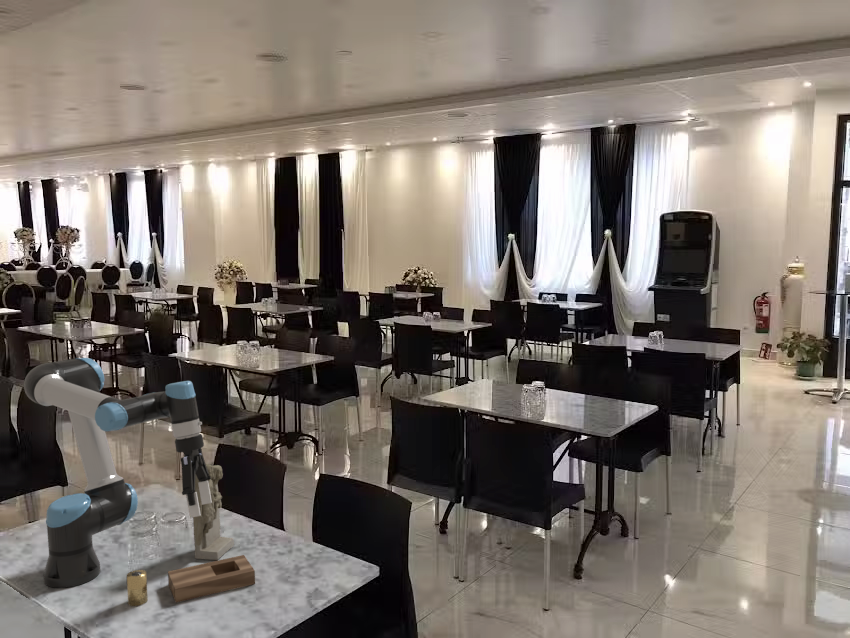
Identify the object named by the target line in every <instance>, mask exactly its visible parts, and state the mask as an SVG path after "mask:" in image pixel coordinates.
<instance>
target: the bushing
mask: <svg viewBox="0 0 850 638" xmlns="http://www.w3.org/2000/svg"><path fill="white" fill-rule="evenodd" d="M147 580H148V578H147V570H145V569H135V570H132V571H129V572H128V573H127V574H126V586H127V587H126V589H127V604H128V606H130V607H140V606H143V605H145V604H146V603H147V602H148V597H149V596H148V581H147Z"/></svg>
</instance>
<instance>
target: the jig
mask: <svg viewBox="0 0 850 638" xmlns="http://www.w3.org/2000/svg"><path fill="white" fill-rule="evenodd" d="M251 564H252V563H250V562H249V560H248V559H247V557H246V556H245V555H244V554H241V555H237V556H233V557H228V558H223V559H218V560H214V561H209V562H205V563H201V564H195V565H192V566H191V565H190V566H186V567H182V568H179V569H173V570H169V571H167V579H168V580H167V581H168V584H167V585H168V586H169V587H168V588H169V589H170V592H171V595H172V597H173V601H175V603H176V604H177V603H182V602H185V601H190V600H194V599H198V598H203V597H207V596H210V595H215V594H218V593H223V592H227V591H231V590H235V589H239V588H242V587H243V588H244V587H247V586H251V585H255V584H256V573H255V572H256V570H255V569H254V568H253V566H252V565H251Z"/></svg>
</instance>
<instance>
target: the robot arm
mask: <svg viewBox="0 0 850 638" xmlns="http://www.w3.org/2000/svg"><path fill="white" fill-rule="evenodd" d="M23 381H24V382H23V390H24V392H25V395H26V397H28V399H29V400H31V401H32V402H34V403H35V404H38V405H41V406H43V407H44V406H45V407H49V406H54V407H57V408H60V409H63V410H66V411H68V412H67V413H68V416H69V420H70V423H71V427H72V431H73V434H74V438H75V441H76V445H77V448H78V449H77V450H78V453H79V456H80V460H81V464H82V467H83V471H84V474H85V478H86V481H87V483H86V486H85V488H84V490H83V492H84V493H80V492H79V493H73V494H67V495H65V496H62V497H59V498H57V499H56V500H54V501H52V502H51V503H50V504H49V505H48V508H47V509H46V519H45V523H46V529H47V531H46V532H47V533H46V534H47V544H48V546H47V547H48V557H47V561H46V565H45V567H44V571H43V583H44V585H45V586H47V587H50V588H54V589H55V588H57V589H58V588H59V589H62V588H71V587H75V586H79V585H82V584H85V583H88V582H90V581H92V580H94V579H95V578H96V577H98V576H99V575H100V573H101V563H100V559H99V558H98V555H97V553H96V551H95V549H94V546H93V535H96V534H98V533H101V532H103V531H106V530H108V529H111V528H113V527H116V526H119V525H122V524H124V523H126V522H128V521H129V520H131V519H132V518H133V517H134V516H135V514H136V511H137V509H138V506H139V505H138V503H139V500H138V499H139V498H138V494H137V490H136V488H135V487H133V485H132V484H130V483H127V482H126V481H125V479H124V477H123V476H120V475H119V474H118V473H117V470H116V466H115V462H114V460H113V455H112V451H111V449H110V444H109V441H108V437H107V433H106V432H112V431H113V432H114V431H120V430H122V429H124V428H129V427H132V426H136V425H140V424H145V423H147V422H151V421H156V420H159V419H165V418H170V423H171V428H172V435H173V437H174V438H175V440H174V445H175V450H176V452H177V453H183V457H180V464H181V480H182V482H181V484H182V486H181V487H182V492H181V495H182V496H184V495H186V496H185V498H186V502H187V509H188V513H189V514H188V515H189V518H190V519H191V518H193V517H197V516H200V515H201V514H200V508H199V503H198V497H197V492H195V477H196V476H197V478H198V480H199V483H198V485H199V491H200V496H201V502H202V505H203V504H209V503H212V500H211V495H210V489H209V483H208V481H207V480H210V479H211V477H210V476H209V472H208V469H207V466H206V464H207V463H206V461H205V460H206V459H205V458H204V455H203V451H202V448H203V447H204V446H205V443H204V437H203V434H202V433H201V432H202V428H201V425H203V421H200V415H199V409H198V403H197V398H196V397H197V396H196V392H195V389H194V384H193V382H192V381H191V380H183V381H177V382H172V383H169V384H166V385H165V391H158V392H155V391H154V392H149V393H146V394H142V395H139V396H135V397H131V398H126V399H120V398H116V397H113V396H110V395H107V394H105V393H101V392H100V391H101V390H102V389H103V388H104V385H105V375H104V372H103V369H102V367H101V366H100V364H99V363H98V362H96V360H95V361H94V360H93V358H89V357H80V358H79V357H75V358H71V359H70V358H69V359H64V360H63V359H62V360H59V361H53V362H45V363H41V364H39V365H37V366H35V367H33V368H32V369H31V370H30V371H29V372H28V373H27V374H26V376H25V379H24V380H23ZM200 481H201V482H200Z"/></svg>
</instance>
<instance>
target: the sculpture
mask: <svg viewBox="0 0 850 638" xmlns="http://www.w3.org/2000/svg"><path fill="white" fill-rule="evenodd" d="M206 466H207V469H208V472H209V476H210V477H211V479H210V480H207V481H208V483H209V489H210V495H211V500H212V503H209V504H203V505H202V502H201V496H200V491H199V485H198V483H199V480H198V478H197V476H196V477H195V492H197V497H198V503H199V508H200V514H201V515H200V516H197V517H192V518H193V519H192V520H193V521H192V522H193V539H194V540H193V541H194V544H193V545H194V559H196V560H208V561H209V560H211V561H212V560H214V561H218V560H220V558H222V556H224V555H225V554H226V553H228V551H229V550H231V549H232V548H233V547H234V546H235V541H234V538H233V537H227V536H226V537H225V536H221V518H220V517H221V516H220V509H222V504H223V503H222V499H223V496H222V495H221V492H219V486H218V483H219V481H220V480H222V478H223V475H224V473H223V468H222V466H221V465H218V464H217V465H216V464H215V465H211V464H209V463H206ZM200 482H201V481H200Z"/></svg>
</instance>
